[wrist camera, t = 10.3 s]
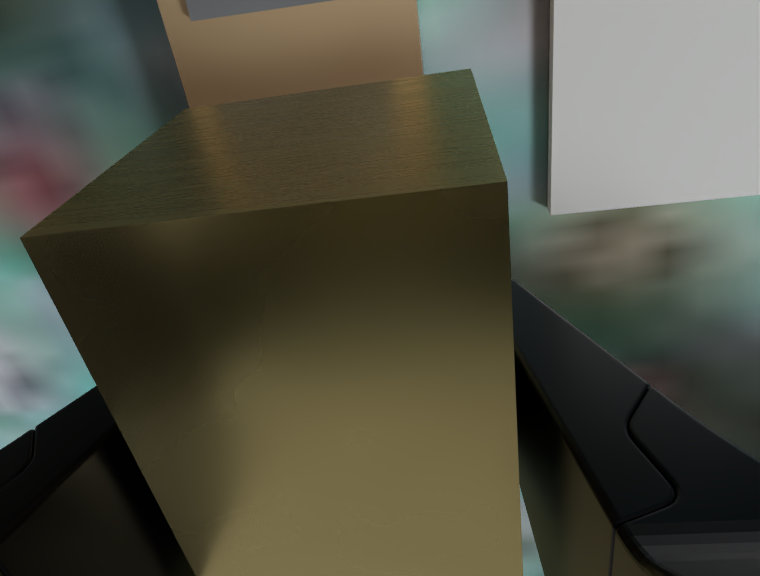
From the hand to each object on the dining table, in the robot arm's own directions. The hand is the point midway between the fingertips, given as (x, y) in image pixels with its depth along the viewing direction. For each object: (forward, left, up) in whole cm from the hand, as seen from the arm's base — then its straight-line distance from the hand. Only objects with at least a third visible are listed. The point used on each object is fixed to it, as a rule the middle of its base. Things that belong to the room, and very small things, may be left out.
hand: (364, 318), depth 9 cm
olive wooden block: (0, 0, 0) cm, 0 cm away
